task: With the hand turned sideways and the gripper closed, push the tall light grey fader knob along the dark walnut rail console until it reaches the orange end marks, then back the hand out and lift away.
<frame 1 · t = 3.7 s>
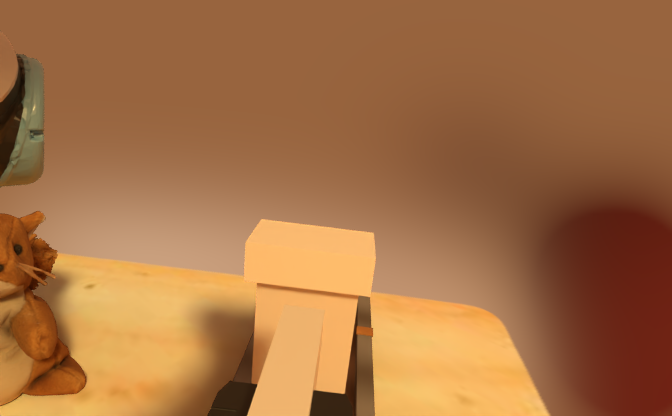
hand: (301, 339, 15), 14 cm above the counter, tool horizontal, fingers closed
fader rail: (303, 405, 31), on the counter
fader knob: (302, 359, 23), point 9 cm above the counter, slide at 0.0 cm
stuffed squirrel: (0, 374, 31), on the counter
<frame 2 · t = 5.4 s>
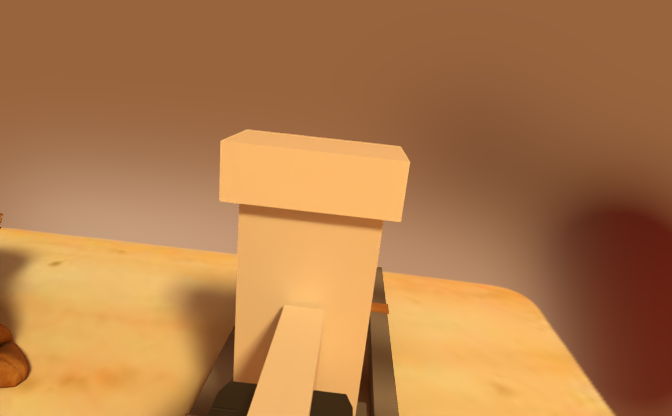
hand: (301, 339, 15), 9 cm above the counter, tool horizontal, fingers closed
fader rail: (304, 396, 25), on the counter
fader knob: (303, 323, 17), point 9 cm above the counter, slide at 0.1 cm, touching gripper
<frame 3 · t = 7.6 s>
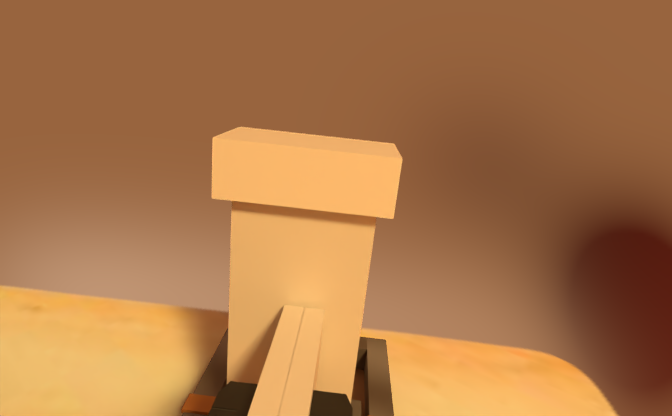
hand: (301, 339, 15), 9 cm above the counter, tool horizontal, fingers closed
fader knob: (297, 320, 17), point 9 cm above the counter, slide at 11.0 cm, touching gripper
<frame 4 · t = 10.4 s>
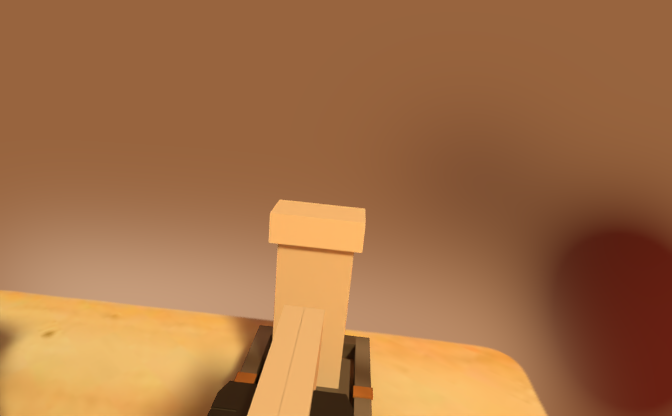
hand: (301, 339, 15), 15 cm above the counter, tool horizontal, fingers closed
fader knob: (311, 307, 30), point 9 cm above the counter, slide at 13.0 cm
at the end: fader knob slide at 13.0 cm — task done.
